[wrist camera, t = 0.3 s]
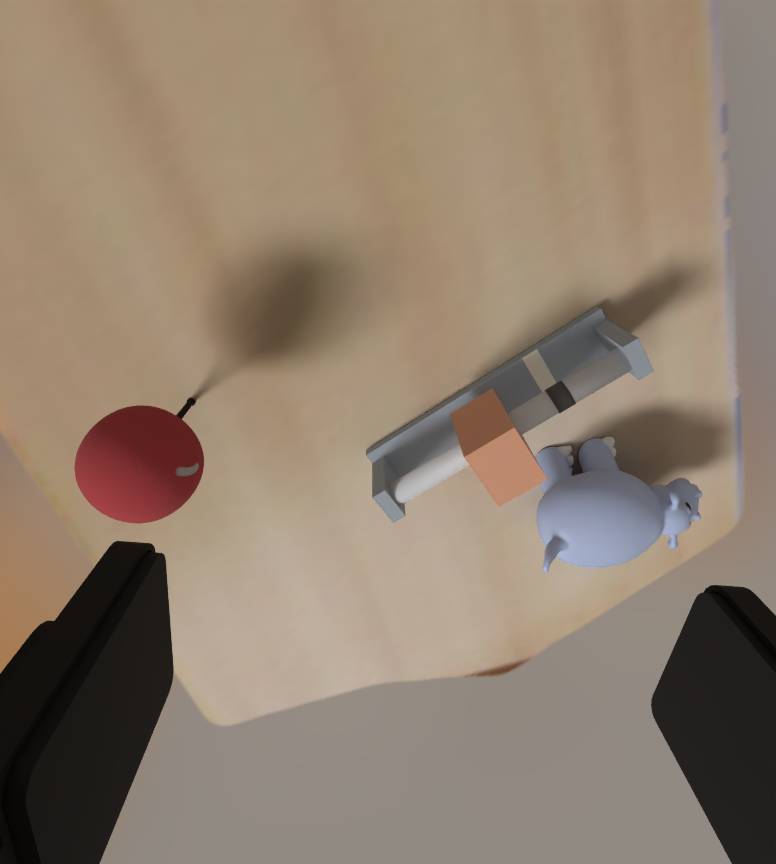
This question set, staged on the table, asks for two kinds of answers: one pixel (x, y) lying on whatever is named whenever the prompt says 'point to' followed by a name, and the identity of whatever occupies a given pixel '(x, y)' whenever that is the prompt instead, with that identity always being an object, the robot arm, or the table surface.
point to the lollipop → (139, 463)
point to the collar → (496, 448)
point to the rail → (506, 404)
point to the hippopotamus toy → (606, 508)
